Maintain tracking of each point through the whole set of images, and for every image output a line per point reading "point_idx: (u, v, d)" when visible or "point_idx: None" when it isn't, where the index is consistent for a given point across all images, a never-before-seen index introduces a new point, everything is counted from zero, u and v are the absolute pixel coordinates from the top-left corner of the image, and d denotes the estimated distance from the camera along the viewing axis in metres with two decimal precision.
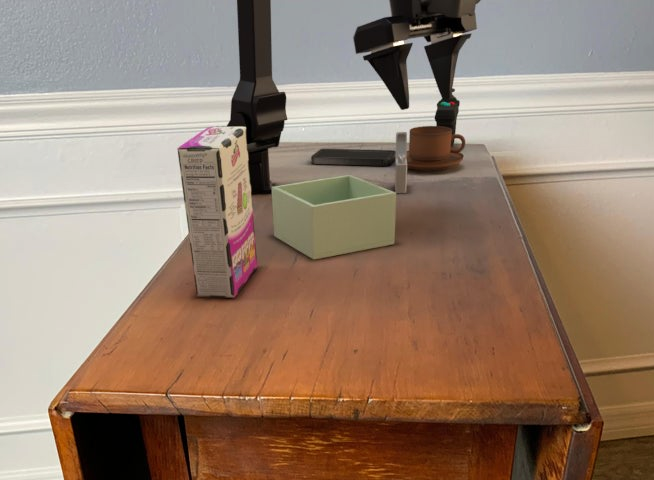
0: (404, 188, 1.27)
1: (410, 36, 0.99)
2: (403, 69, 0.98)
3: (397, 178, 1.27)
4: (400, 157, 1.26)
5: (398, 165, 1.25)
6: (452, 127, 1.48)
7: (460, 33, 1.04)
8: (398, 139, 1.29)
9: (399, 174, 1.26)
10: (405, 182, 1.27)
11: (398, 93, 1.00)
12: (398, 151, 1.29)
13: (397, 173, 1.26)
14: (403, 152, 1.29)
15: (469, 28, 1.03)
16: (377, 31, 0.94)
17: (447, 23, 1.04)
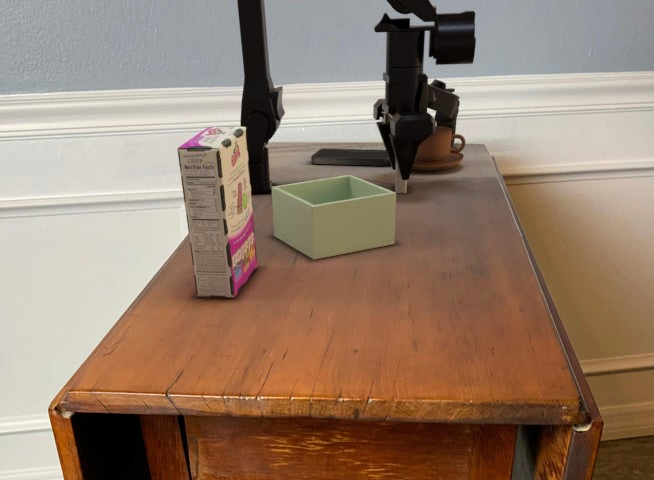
0: (404, 188, 1.27)
1: None
2: None
3: (397, 178, 1.27)
4: None
5: None
6: (452, 127, 1.48)
7: None
8: None
9: (399, 174, 1.26)
10: (405, 182, 1.27)
11: (406, 167, 1.25)
12: None
13: (397, 173, 1.26)
14: None
15: None
16: (425, 124, 1.17)
17: None
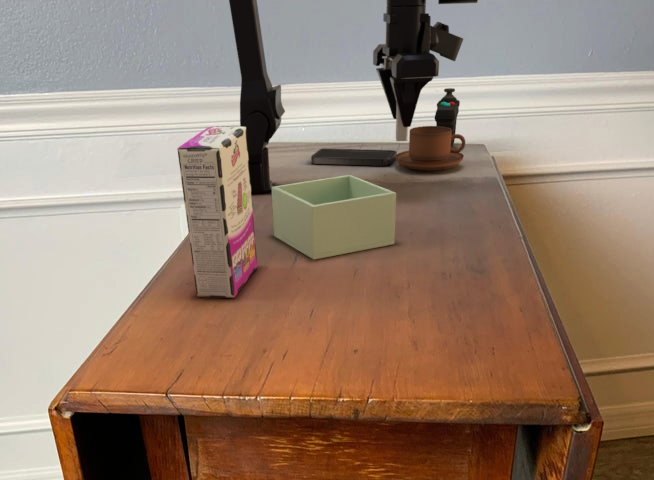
0: (405, 136, 1.23)
1: None
2: None
3: (398, 125, 1.22)
4: None
5: None
6: (452, 127, 1.48)
7: None
8: None
9: (400, 121, 1.21)
10: (406, 129, 1.22)
11: (407, 113, 1.20)
12: None
13: (398, 120, 1.21)
14: None
15: None
16: (427, 64, 1.12)
17: None
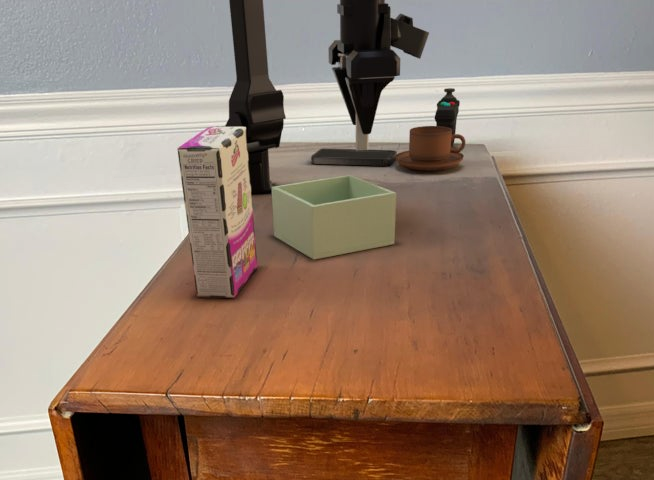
0: (366, 144, 1.07)
1: None
2: None
3: (357, 132, 1.06)
4: None
5: None
6: (452, 127, 1.48)
7: None
8: None
9: (359, 127, 1.06)
10: (367, 137, 1.07)
11: (367, 119, 1.05)
12: None
13: (357, 126, 1.06)
14: None
15: None
16: (387, 62, 0.97)
17: None
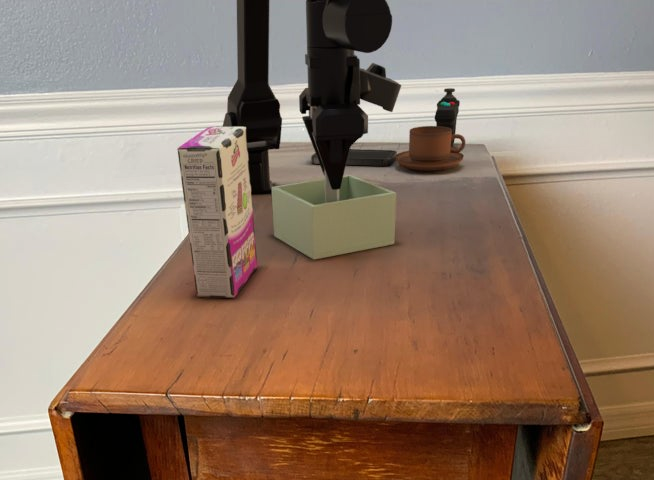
0: (335, 199, 1.02)
1: None
2: None
3: (326, 187, 1.01)
4: None
5: None
6: (452, 127, 1.48)
7: None
8: None
9: (328, 182, 1.01)
10: (336, 192, 1.02)
11: (335, 174, 1.00)
12: None
13: (326, 181, 1.01)
14: None
15: None
16: (353, 120, 0.92)
17: None
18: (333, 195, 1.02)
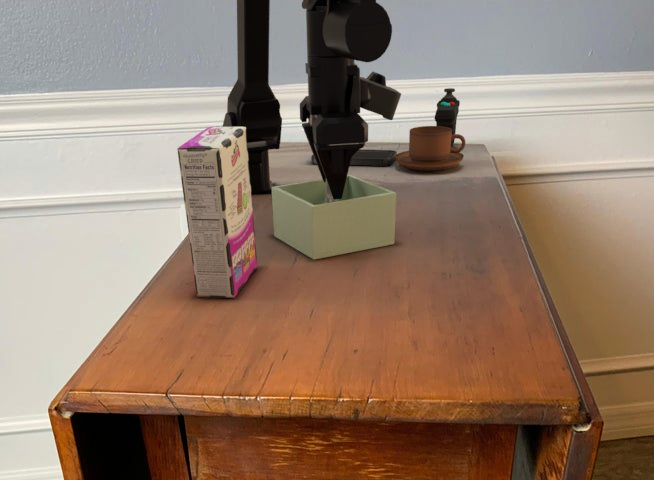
0: None
1: None
2: None
3: None
4: (330, 198, 1.04)
5: None
6: (452, 127, 1.48)
7: None
8: None
9: None
10: None
11: (337, 184, 0.99)
12: (329, 188, 1.07)
13: None
14: None
15: None
16: (353, 128, 0.92)
17: None
18: None
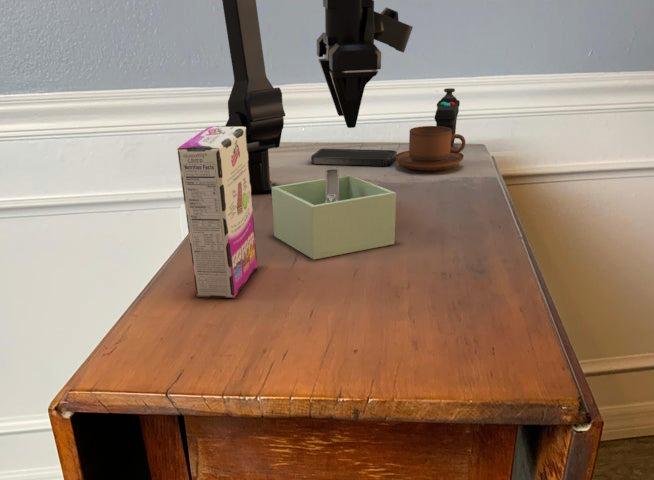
0: None
1: None
2: (362, 91, 1.04)
3: None
4: (330, 198, 1.04)
5: None
6: (452, 127, 1.48)
7: None
8: (328, 175, 1.07)
9: None
10: None
11: (351, 112, 1.06)
12: (329, 190, 1.07)
13: None
14: (335, 191, 1.07)
15: None
16: (367, 56, 0.98)
17: None
18: None
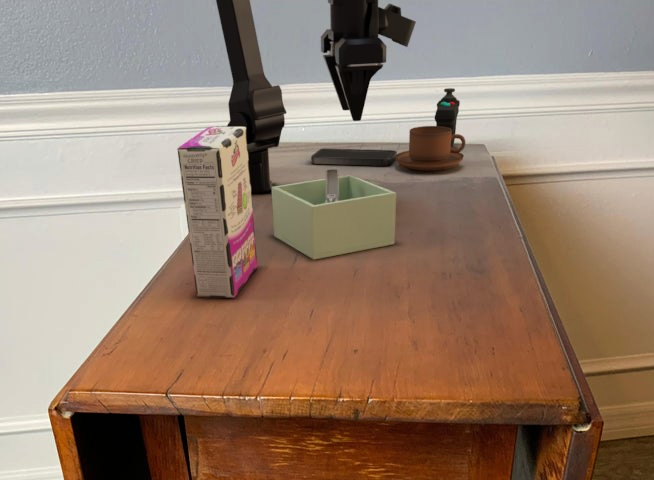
0: None
1: None
2: None
3: None
4: (330, 198, 1.04)
5: None
6: (452, 127, 1.48)
7: None
8: (328, 175, 1.07)
9: None
10: None
11: (357, 106, 1.08)
12: (329, 190, 1.07)
13: None
14: (335, 191, 1.07)
15: None
16: (373, 49, 1.01)
17: None
18: None
